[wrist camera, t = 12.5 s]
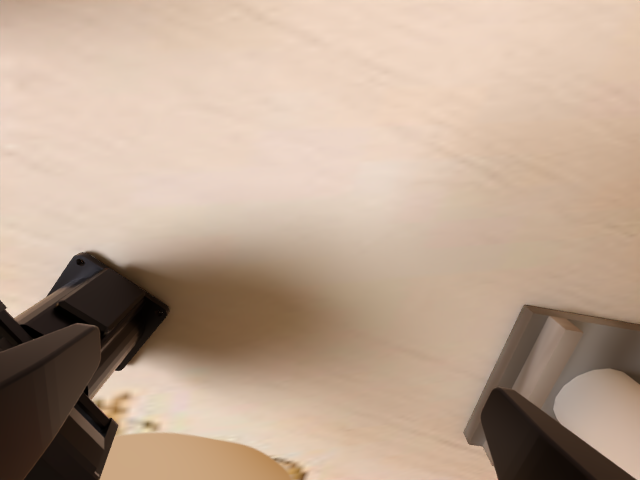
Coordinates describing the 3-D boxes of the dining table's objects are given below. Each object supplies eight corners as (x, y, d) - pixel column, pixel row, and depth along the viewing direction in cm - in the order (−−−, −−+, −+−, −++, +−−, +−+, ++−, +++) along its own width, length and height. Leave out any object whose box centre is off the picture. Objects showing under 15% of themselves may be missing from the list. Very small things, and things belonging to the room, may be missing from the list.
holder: (463, 432, 26) (524, 559, 18) (524, 304, 22) (633, 400, 14) (610, 452, 27) (724, 580, 20) (693, 334, 23) (878, 437, 15)
